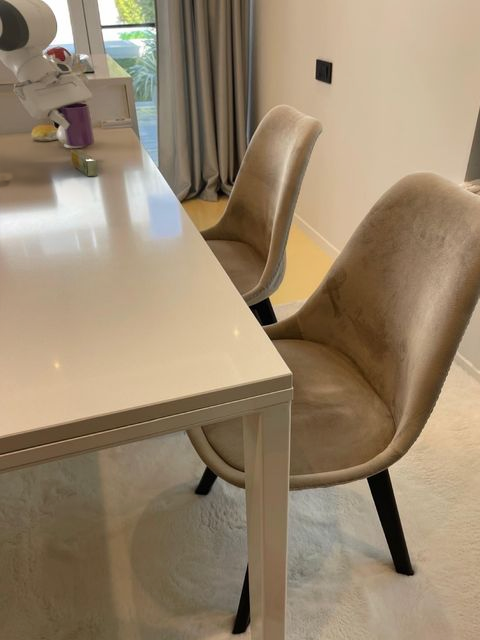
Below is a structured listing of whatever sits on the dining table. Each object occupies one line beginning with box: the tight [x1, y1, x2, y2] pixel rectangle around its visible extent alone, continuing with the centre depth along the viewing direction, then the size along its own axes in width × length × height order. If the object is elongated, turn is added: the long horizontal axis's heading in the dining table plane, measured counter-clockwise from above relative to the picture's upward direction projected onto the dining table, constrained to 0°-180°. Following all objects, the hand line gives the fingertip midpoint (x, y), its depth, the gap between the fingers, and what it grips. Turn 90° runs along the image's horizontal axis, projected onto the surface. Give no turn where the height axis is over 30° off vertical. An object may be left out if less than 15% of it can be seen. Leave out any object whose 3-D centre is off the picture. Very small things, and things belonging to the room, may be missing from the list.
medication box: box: [70, 149, 98, 177], centre depth 146 cm, size 12×3×4 cm, turn 35°
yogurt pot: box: [61, 103, 95, 147], centre depth 141 cm, size 7×7×9 cm
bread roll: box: [31, 124, 59, 143], centre depth 175 cm, size 8×9×4 cm
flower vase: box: [43, 50, 90, 150], centre depth 161 cm, size 13×18×25 cm
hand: (79, 123), depth 141 cm, fingers closed on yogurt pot, 7 cm apart
